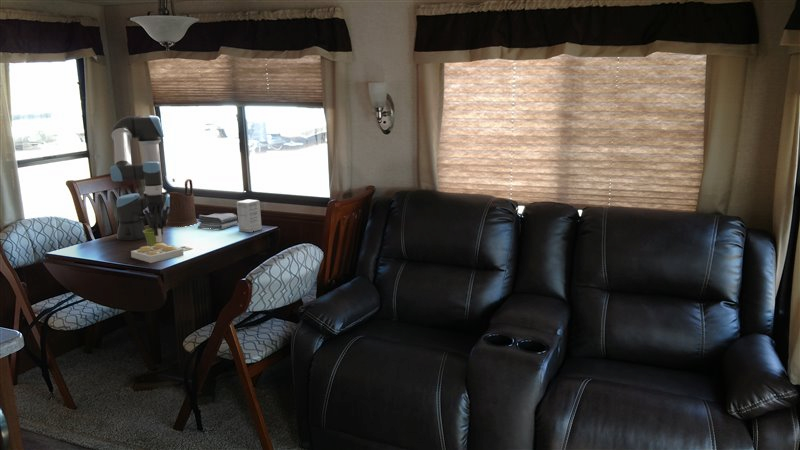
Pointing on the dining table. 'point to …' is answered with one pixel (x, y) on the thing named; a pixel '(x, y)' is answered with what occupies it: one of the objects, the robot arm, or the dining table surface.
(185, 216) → the brown basket
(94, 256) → the dining table surface
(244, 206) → the supplement box
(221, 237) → the dining table surface
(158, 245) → the button
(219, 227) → the towel
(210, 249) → the dining table surface
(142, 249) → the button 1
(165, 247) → the button
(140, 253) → the white square food tray
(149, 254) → the button
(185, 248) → the card
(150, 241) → the plant pot
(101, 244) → the dining table surface
